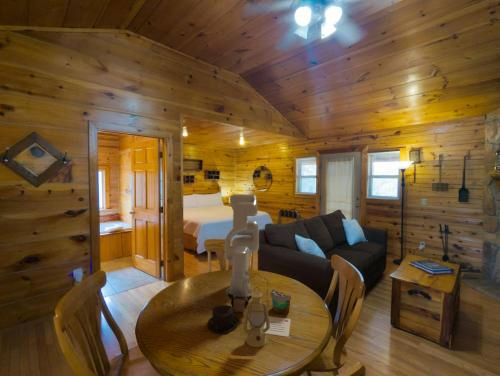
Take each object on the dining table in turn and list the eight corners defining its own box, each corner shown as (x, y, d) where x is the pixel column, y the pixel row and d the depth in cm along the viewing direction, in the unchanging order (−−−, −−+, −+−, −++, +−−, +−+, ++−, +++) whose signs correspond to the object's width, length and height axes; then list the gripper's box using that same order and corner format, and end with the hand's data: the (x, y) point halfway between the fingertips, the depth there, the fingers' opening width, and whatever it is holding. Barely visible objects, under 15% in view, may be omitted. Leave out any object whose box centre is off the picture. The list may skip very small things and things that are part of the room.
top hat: (203, 332, 114) (203, 310, 114) (212, 314, 129) (212, 295, 128) (235, 335, 112) (235, 312, 112) (241, 317, 127) (241, 297, 127)
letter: (267, 316, 127) (267, 316, 127) (290, 319, 124) (290, 319, 124) (262, 333, 113) (262, 332, 113) (288, 337, 110) (288, 336, 110)
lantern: (244, 349, 102) (244, 278, 101) (241, 335, 112) (241, 269, 111) (272, 347, 104) (272, 277, 103) (267, 332, 113) (267, 268, 112)
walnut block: (234, 305, 134) (234, 294, 134) (245, 305, 134) (245, 295, 133) (233, 311, 128) (233, 299, 128) (244, 311, 128) (244, 300, 127)
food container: (265, 309, 133) (265, 291, 133) (272, 305, 138) (272, 288, 137) (284, 318, 125) (284, 299, 125) (291, 313, 129) (291, 295, 129)
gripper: (257, 272, 132) (257, 305, 132) (226, 269, 136) (226, 301, 137) (254, 277, 125) (254, 312, 125) (221, 274, 129) (221, 308, 129)
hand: (239, 306), depth 131 cm, fingers closed on walnut block, 6 cm apart
